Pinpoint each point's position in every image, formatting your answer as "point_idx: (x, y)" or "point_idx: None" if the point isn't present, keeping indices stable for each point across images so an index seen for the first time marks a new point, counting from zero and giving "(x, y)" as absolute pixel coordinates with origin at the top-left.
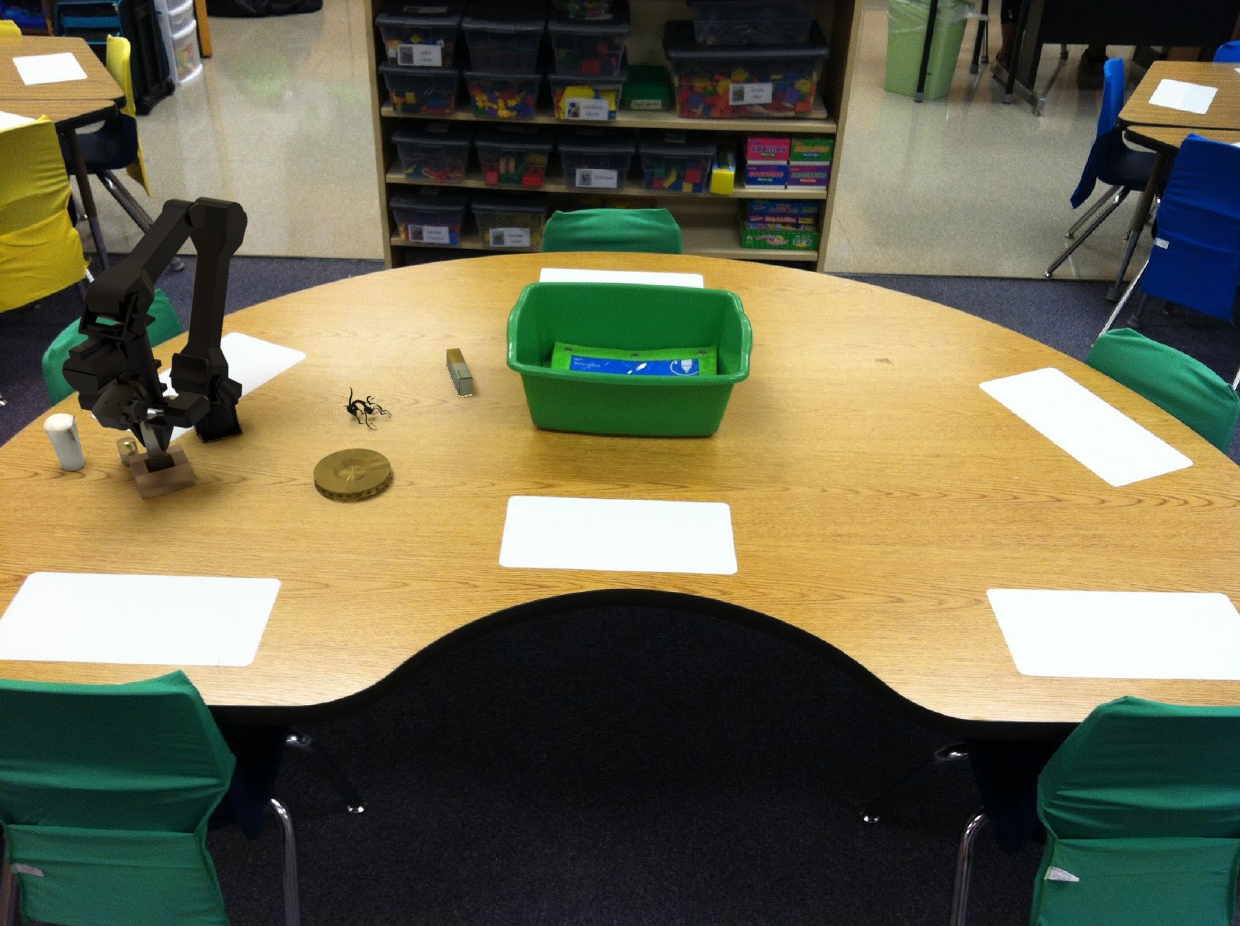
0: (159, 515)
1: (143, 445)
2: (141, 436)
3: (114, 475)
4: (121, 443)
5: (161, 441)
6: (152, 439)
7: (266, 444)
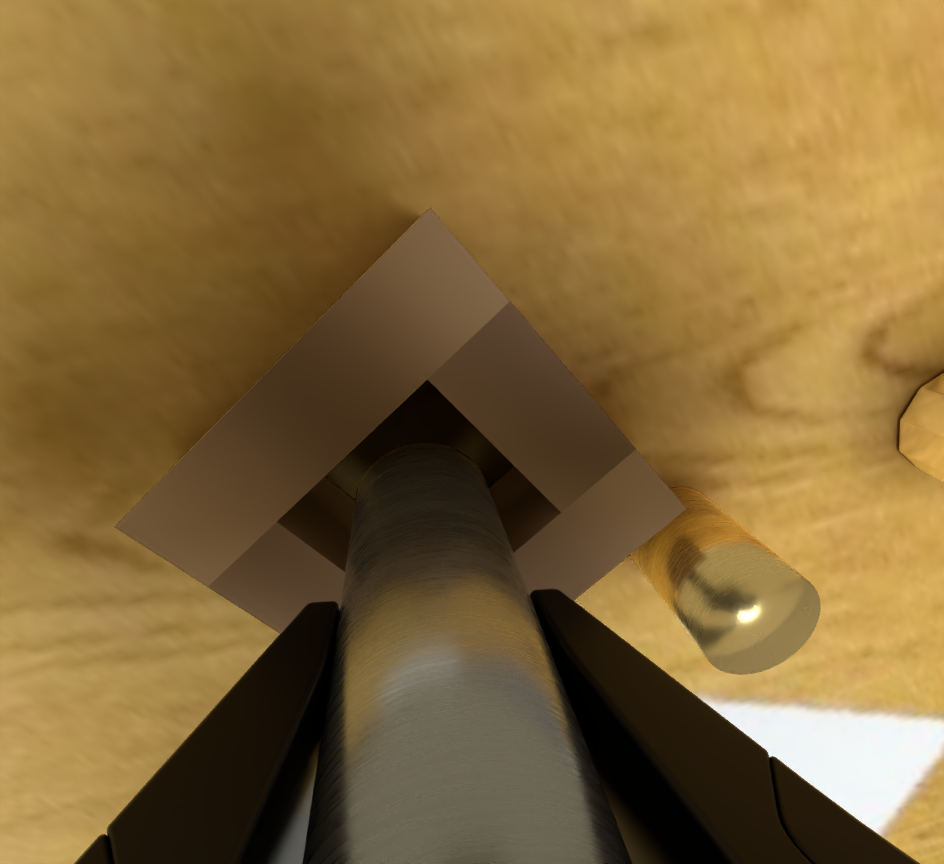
0: (163, 40)
1: (559, 602)
2: (595, 708)
3: (709, 401)
4: (782, 600)
5: (238, 719)
6: (373, 712)
7: (83, 845)
